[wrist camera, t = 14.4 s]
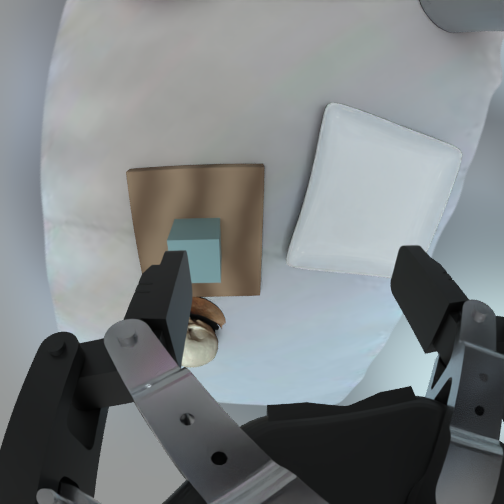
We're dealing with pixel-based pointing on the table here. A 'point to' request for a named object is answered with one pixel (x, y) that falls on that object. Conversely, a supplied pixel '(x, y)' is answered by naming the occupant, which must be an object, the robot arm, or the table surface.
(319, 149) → the salad plate
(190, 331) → the skull
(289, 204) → the table surface
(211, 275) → the slate cube
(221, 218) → the walnut board
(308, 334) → the table surface
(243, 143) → the table surface
